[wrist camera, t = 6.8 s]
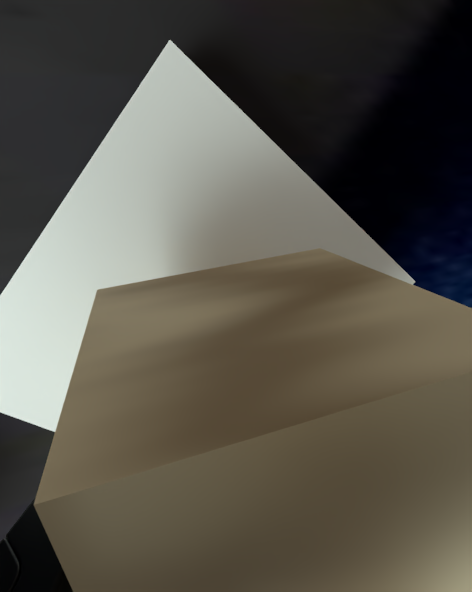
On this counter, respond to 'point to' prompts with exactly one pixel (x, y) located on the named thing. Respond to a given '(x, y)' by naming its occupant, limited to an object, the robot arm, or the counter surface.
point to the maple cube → (266, 435)
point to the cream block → (159, 224)
